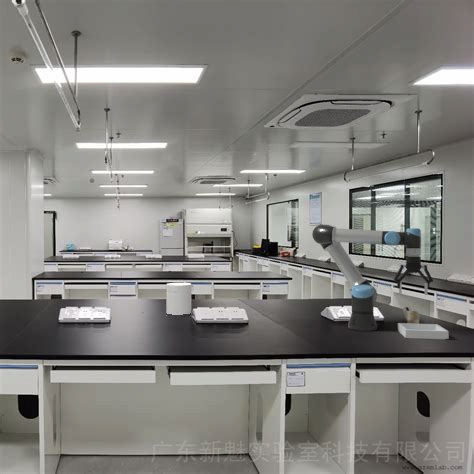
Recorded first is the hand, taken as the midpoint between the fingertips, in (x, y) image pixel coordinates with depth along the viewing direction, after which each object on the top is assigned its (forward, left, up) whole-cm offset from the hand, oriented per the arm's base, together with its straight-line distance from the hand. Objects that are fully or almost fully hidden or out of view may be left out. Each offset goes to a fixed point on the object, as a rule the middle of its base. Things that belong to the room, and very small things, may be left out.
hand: (413, 294), depth 238 cm
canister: (-140, +19, -19) cm, 143 cm away
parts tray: (0, -18, -19) cm, 26 cm away
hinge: (+3, +19, -19) cm, 27 cm away
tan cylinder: (0, 0, -19) cm, 19 cm away
